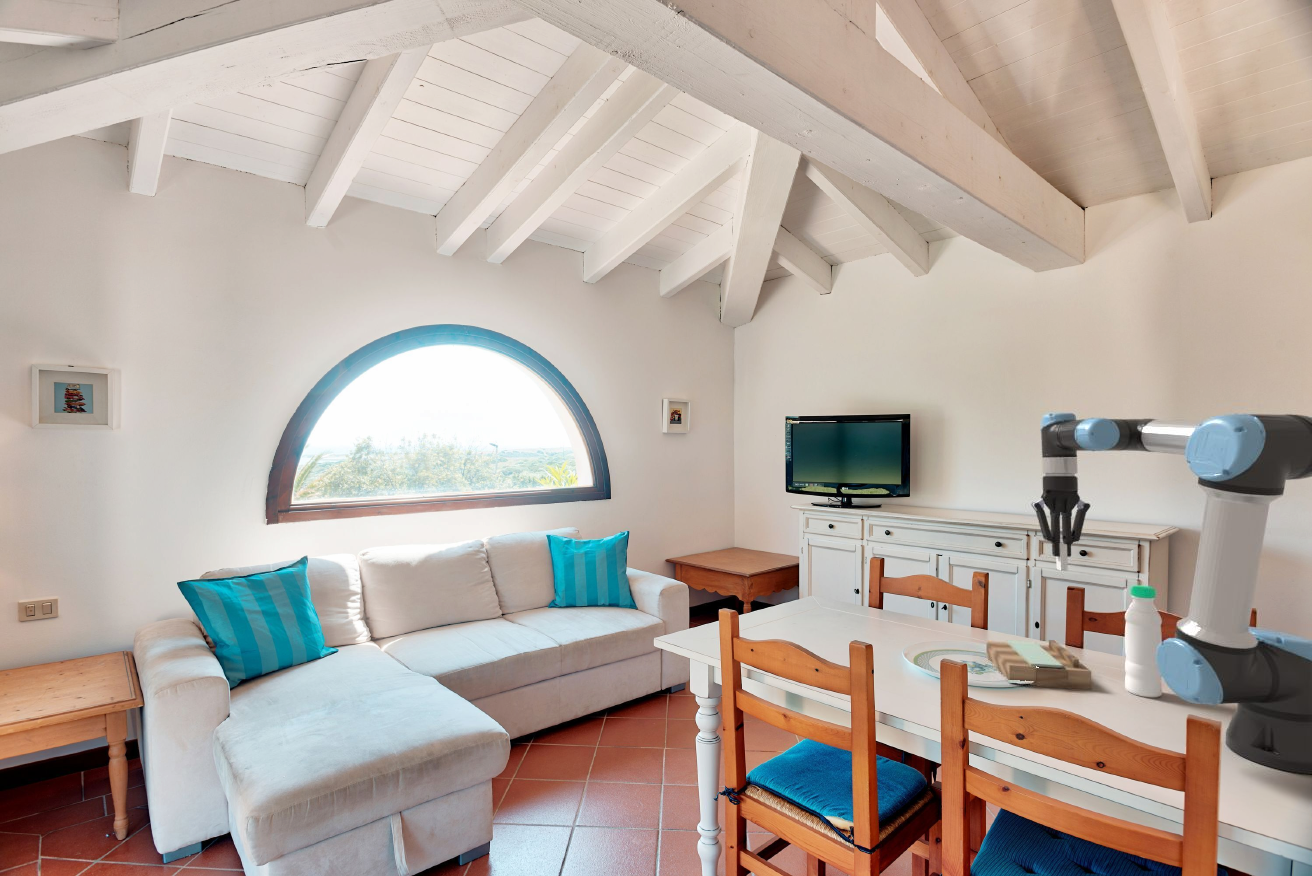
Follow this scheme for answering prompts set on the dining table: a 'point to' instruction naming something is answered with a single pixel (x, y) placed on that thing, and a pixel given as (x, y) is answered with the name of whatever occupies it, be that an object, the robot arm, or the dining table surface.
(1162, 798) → the dining table surface
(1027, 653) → the cover
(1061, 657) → the wooden tray
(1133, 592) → the water bottle
